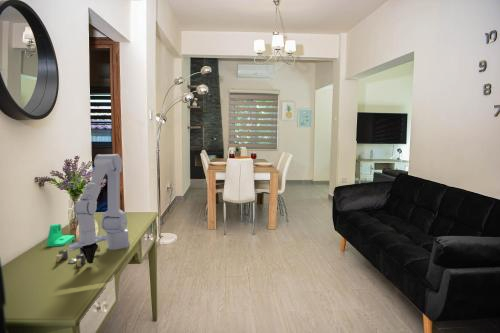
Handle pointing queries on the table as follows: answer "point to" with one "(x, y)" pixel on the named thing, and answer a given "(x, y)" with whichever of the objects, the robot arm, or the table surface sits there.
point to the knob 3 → (96, 250)
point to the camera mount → (58, 236)
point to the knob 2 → (80, 259)
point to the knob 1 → (62, 255)
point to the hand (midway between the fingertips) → (90, 262)
